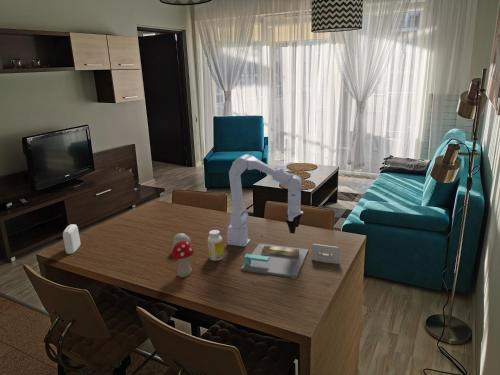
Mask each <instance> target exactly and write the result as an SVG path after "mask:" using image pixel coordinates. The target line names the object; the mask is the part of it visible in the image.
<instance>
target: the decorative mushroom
mask: <svg viewBox="0 0 500 375" xmlns="http://www.w3.org/2000/svg"><path fill="white" fill-rule="evenodd" d="M194 252H195V250H194V248H193V246H192V244H191V242H190V243H189V242H188V241H179V242H178V243H176V244H175V246H174V248H173V250H172V249H171V254H170V255H171V257H172V258H173V259H175V260H178V265H177V266H178V267H177V271H176V274H177V277H179V278H185V277H188V276H190V275H192V270H193V269H192V266H191V265H190V261H189V258H188V257H191V256H192V255H193V254H194Z"/></svg>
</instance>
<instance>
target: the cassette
mask: <svg viewBox="0 0 500 375" xmlns="http://www.w3.org/2000/svg"><path fill="white" fill-rule="evenodd" d="M340 250H341V248H340V247H339V246H335V245H334V246H332V245H326V244H318V243H312V244H311V260H312V261H315V262H322V263H327V264H337V265H339V264H340Z"/></svg>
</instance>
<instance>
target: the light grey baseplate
mask: <svg viewBox="0 0 500 375" xmlns="http://www.w3.org/2000/svg"><path fill="white" fill-rule="evenodd" d="M263 245H270V246H274V247H283V248H291V249H299V255H298V257H294V256H287V255H279V254H271V253H268V254H265V253H262V246H263ZM308 253H309V249H308V248H299V247H292V246H282V245H275V244H267V243H258V245H257V246H256V247H255V248H254V250H253V252H251V254H253V255H260V256H268V257H270V259H269V261H268V262H264V261H256V260H251V263H250V265H245V264H244V263H243V264H242V266H241V267H240V270H241V271H244V272H251V273H252V272H253V273H260V274H266V275H271V276H279V277H284V278H293V279H297V277H298V275H299V273H300V270H301V268H302V267H303V264H304V262H305V260H306V257H307V255H308Z"/></svg>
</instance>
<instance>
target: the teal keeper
mask: <svg viewBox="0 0 500 375" xmlns="http://www.w3.org/2000/svg"><path fill="white" fill-rule="evenodd" d="M243 258H244V261H243V262H244V263H243V265H244V264H245V265H250V263H251V260H256V261H264V262H268V261H269V259H270V257H268V256H260V255H253V254H252V253H246V254H245V255H244V257H243Z"/></svg>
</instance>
